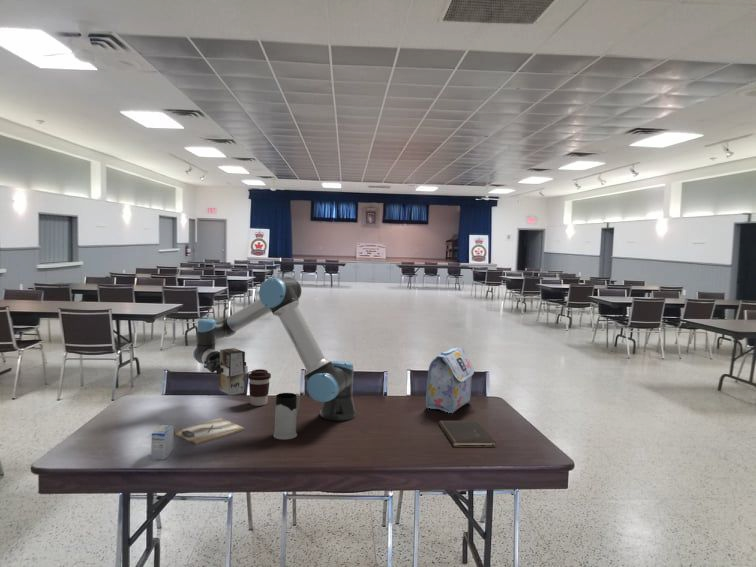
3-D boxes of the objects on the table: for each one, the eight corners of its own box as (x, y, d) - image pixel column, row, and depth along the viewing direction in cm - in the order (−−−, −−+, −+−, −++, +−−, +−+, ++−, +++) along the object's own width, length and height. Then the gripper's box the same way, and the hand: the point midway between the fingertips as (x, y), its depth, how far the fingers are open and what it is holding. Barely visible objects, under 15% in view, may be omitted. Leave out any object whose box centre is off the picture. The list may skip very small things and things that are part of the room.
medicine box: (159, 450, 159) (160, 424, 159) (173, 450, 160) (174, 424, 159) (150, 460, 151) (151, 433, 151) (165, 460, 152) (165, 433, 151)
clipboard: (244, 430, 181) (244, 425, 180) (196, 444, 165) (196, 439, 165) (220, 419, 191) (220, 415, 190) (172, 432, 175) (172, 428, 175)
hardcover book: (476, 426, 197) (476, 420, 197) (495, 447, 174) (495, 441, 174) (438, 426, 195) (438, 420, 195) (452, 448, 172) (453, 441, 172)
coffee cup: (274, 403, 215) (275, 370, 214) (258, 408, 207) (259, 374, 206) (259, 399, 220) (260, 367, 220) (242, 404, 212) (243, 371, 211)
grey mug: (268, 437, 174) (269, 396, 174) (288, 425, 188) (289, 387, 187) (289, 441, 172) (290, 400, 171) (308, 428, 185) (309, 390, 184)
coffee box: (244, 392, 183) (246, 351, 182) (229, 395, 178) (230, 353, 178) (232, 387, 189) (234, 347, 189) (217, 390, 185) (219, 349, 184)
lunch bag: (457, 416, 207) (460, 356, 205) (422, 408, 215) (425, 351, 214) (475, 404, 226) (478, 349, 224) (443, 397, 235) (445, 344, 233)
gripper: (236, 366, 204) (261, 377, 186) (190, 371, 191) (211, 384, 173) (237, 348, 203) (261, 358, 186) (190, 353, 191) (212, 364, 173)
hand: (237, 371), depth 180 cm, fingers closed on coffee box, 7 cm apart
